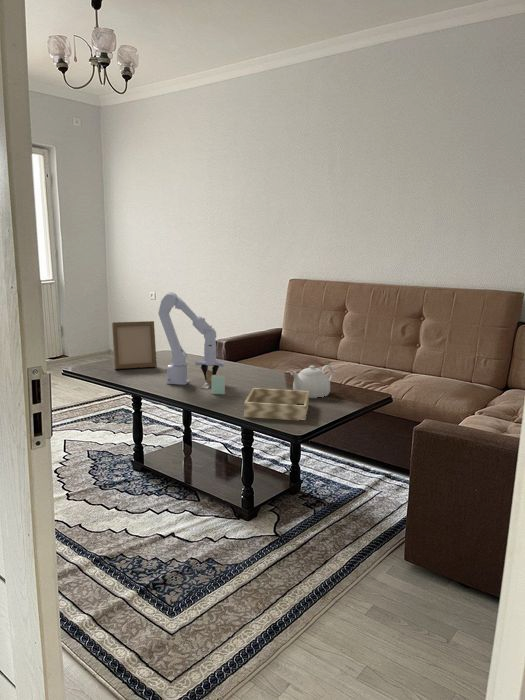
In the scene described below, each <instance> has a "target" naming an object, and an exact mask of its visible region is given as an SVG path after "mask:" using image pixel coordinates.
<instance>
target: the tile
mask: <svg viewBox="0 0 525 700" xmlns="http://www.w3.org/2000/svg"><path fill="white" fill-rule="evenodd" d="M210 387H211V390H210V391H211V394H213V395H225V394H226V375H222V374H220V375H219V374H216V375H212V376H211V386H210Z"/></svg>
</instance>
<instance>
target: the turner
mask: <svg viewBox="0 0 525 700" xmlns="http://www.w3.org/2000/svg"><path fill="white" fill-rule="evenodd" d="M212 375H213V372H212V370H208V371H206V380H205V381H206V382H205V383H204V384H203V385H202V386H201V389H202V390H208V389H209V388H210V387H211V376H212Z"/></svg>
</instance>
